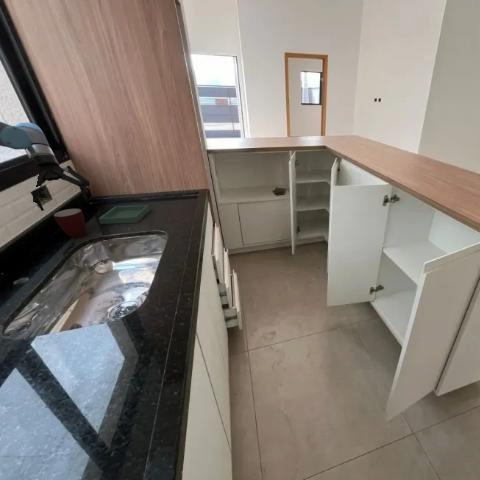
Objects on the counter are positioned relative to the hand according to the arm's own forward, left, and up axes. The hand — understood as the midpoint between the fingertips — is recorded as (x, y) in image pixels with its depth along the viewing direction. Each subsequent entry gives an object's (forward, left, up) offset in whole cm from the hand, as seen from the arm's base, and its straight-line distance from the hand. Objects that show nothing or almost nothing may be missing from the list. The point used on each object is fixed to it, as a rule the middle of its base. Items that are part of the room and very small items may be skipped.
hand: (65, 204), depth 104 cm
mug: (+3, -5, -11) cm, 13 cm away
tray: (+13, +12, -11) cm, 21 cm away
